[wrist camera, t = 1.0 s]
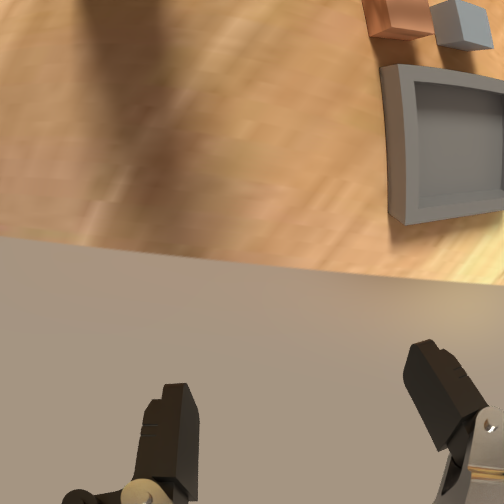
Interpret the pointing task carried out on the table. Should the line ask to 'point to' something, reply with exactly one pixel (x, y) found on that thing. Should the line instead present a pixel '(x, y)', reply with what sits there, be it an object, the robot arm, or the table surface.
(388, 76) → the charcoal tray
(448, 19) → the grey block
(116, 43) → the table surface
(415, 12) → the terracotta block
